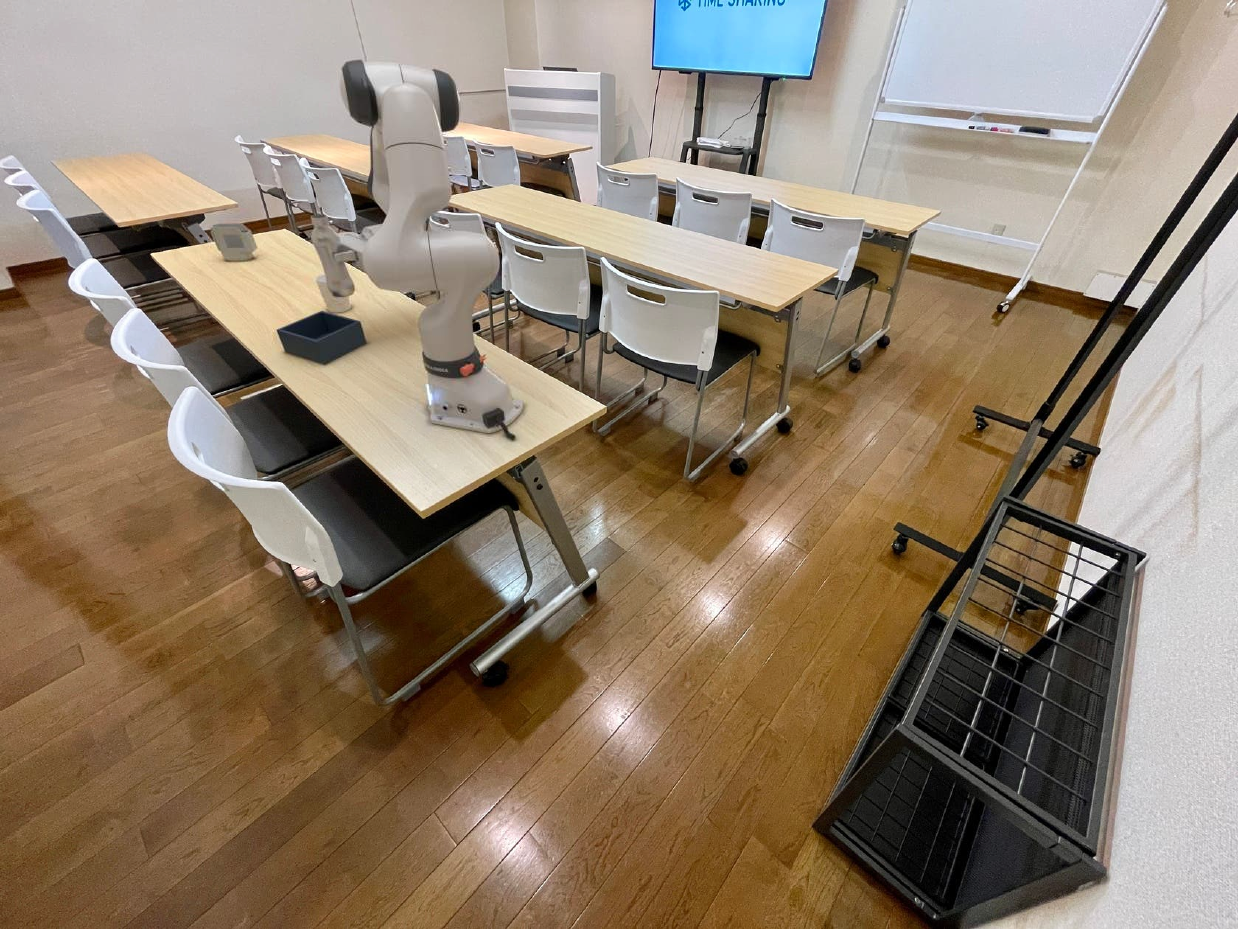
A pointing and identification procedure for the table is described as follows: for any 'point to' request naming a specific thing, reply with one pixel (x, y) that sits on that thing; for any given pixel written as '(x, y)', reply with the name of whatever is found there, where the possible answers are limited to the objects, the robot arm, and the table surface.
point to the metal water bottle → (331, 257)
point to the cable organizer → (233, 241)
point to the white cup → (332, 297)
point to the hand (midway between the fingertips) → (327, 254)
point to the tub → (322, 337)
